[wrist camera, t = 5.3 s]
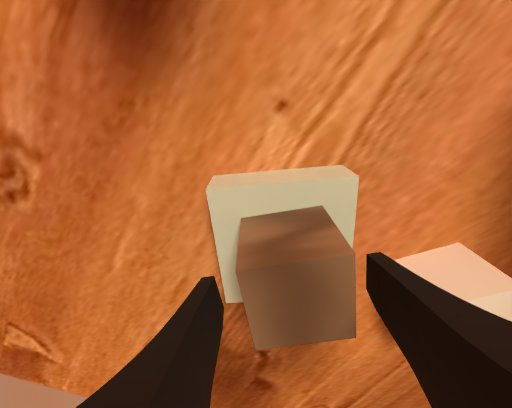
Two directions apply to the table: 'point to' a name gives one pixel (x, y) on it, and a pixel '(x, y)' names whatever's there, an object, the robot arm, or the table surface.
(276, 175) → the sage slab
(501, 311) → the cream cube
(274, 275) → the walnut cube
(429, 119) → the table surface
